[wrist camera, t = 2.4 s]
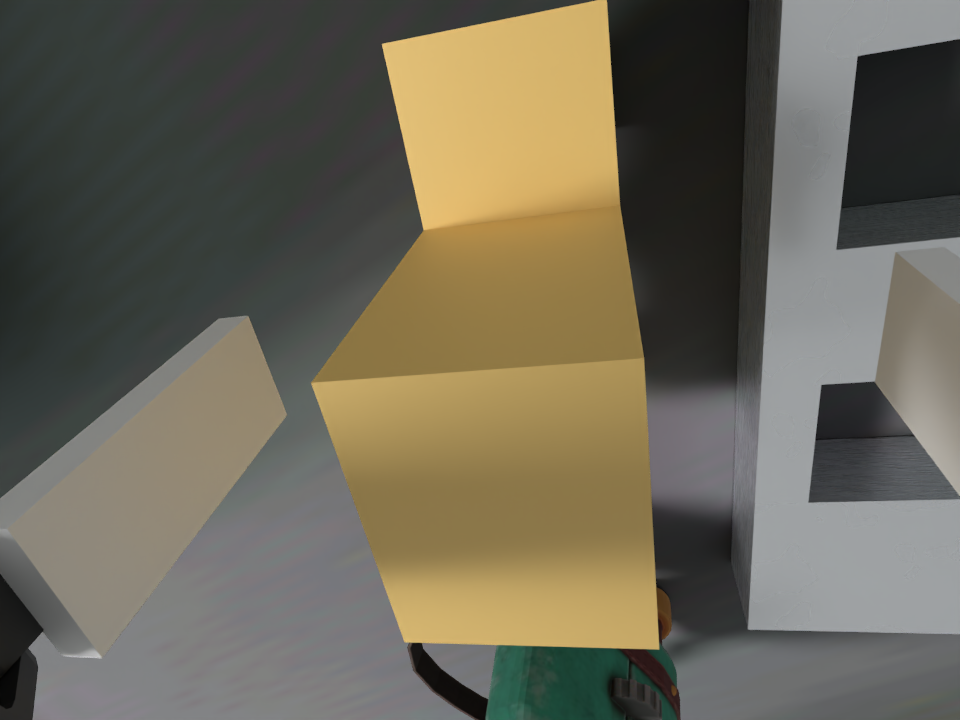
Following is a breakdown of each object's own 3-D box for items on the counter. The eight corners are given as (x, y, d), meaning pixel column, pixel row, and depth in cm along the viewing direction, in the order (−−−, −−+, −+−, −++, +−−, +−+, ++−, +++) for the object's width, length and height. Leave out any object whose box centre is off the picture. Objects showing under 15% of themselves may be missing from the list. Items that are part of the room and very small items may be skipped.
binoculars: (305, 824, 19) (548, 796, 14) (412, 557, 28) (587, 478, 23) (488, 942, 22) (750, 956, 17) (534, 664, 30) (718, 616, 25)
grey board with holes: (730, 562, 24) (747, 629, 21) (757, -254, 13) (800, -321, 10) (995, 562, 22) (1048, 635, 19) (1310, -408, 11) (1540, -540, 8)
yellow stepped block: (628, 399, 21) (665, 776, 11) (513, 405, 22) (447, 760, 12) (600, 1, 15) (624, -11, 5) (448, 32, 16) (200, 76, 6)
